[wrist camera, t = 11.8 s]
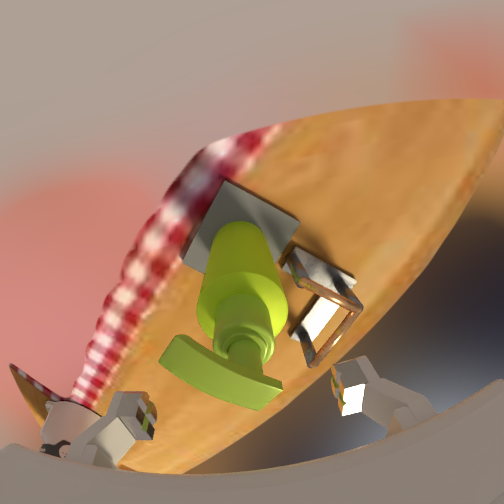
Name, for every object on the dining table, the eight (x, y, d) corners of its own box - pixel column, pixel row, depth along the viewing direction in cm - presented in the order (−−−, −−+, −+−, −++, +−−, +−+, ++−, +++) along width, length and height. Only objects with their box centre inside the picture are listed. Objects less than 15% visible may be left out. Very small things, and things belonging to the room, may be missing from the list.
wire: (307, 342, 36) (319, 375, 30) (246, 316, 34) (248, 350, 28) (355, 279, 33) (377, 305, 27) (293, 244, 31) (306, 267, 25)
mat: (253, 295, 33) (253, 297, 32) (182, 260, 31) (181, 262, 30) (299, 221, 30) (300, 222, 30) (224, 180, 28) (224, 180, 28)
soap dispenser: (223, 204, 28) (198, 305, 10) (278, 240, 30) (338, 376, 11) (193, 250, 30) (139, 392, 11) (247, 282, 32) (261, 440, 13)
